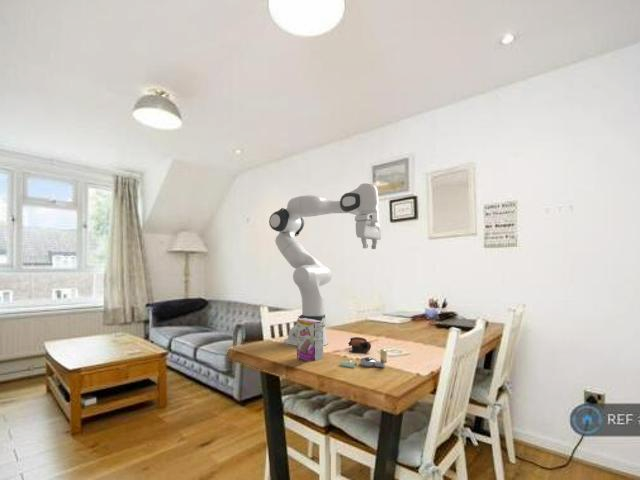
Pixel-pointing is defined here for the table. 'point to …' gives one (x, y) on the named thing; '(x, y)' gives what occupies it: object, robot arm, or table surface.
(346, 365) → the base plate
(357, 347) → the pottery mug
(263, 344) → the table surface
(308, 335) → the candy bar box
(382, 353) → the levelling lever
